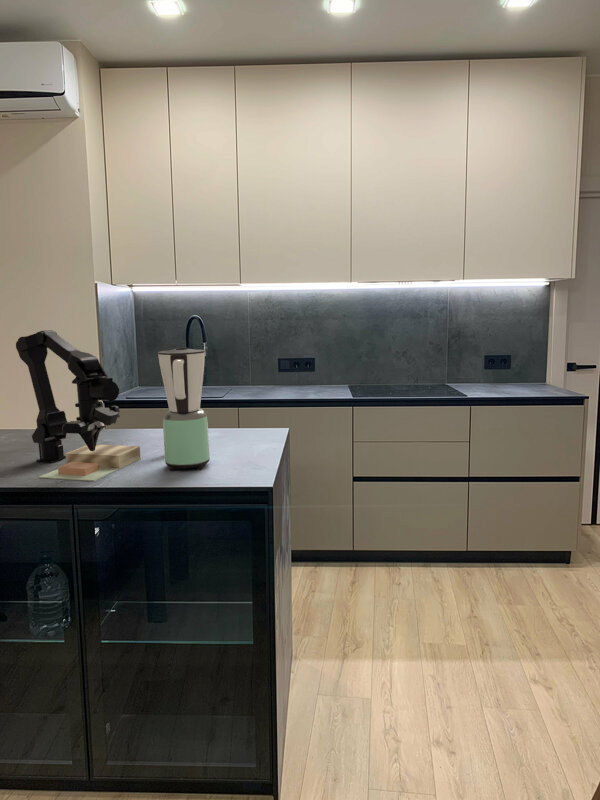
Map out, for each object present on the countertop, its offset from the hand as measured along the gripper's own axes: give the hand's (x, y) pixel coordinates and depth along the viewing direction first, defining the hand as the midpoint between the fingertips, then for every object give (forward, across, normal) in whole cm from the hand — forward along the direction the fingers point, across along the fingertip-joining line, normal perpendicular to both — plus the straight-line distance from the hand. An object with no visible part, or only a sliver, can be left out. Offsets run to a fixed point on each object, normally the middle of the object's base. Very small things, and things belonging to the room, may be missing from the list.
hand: (92, 450), depth 179 cm
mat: (+5, -7, 0) cm, 9 cm away
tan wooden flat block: (+5, +6, 0) cm, 7 cm away
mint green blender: (+5, +6, -28) cm, 29 cm away
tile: (+3, -7, 0) cm, 7 cm away
